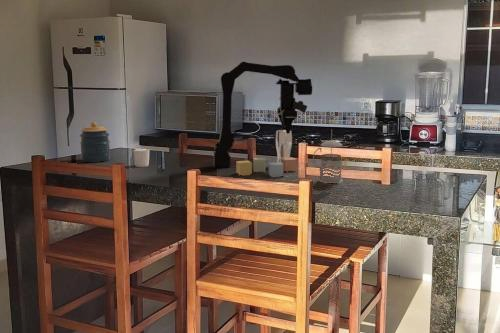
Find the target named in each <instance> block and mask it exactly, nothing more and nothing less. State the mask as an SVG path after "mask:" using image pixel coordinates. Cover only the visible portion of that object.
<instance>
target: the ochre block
mask: <svg viewBox="0 0 500 333" xmlns="http://www.w3.org/2000/svg"><path fill="white" fill-rule="evenodd" d="M235 165H236V166H235V167H236V169H235V170H236V174H237V173H238V174H239V175H238V174H237V175H238V176H240V175H242V176H251V175H250V174H252V175H253V162H251V161H250V160H237V161H236V163H235Z"/></svg>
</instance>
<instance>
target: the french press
mask: <svg viewBox="0 0 500 333" xmlns="http://www.w3.org/2000/svg"><path fill="white" fill-rule="evenodd" d="M335 116H336V115H335V114H329V118H331V119H333V118H336V117H335ZM341 147H343V144H342V143H341V142H339V141H337V140H334V139H333V130H331V136H330V140H326V141H324V142H321V144H320V147H319V148H317V149H316V150H314V151H313V152H314V153H313V156H312V161H313V164H314V166H315V167H317V168H319V178H318V179H317V180H318V181H320V182H324V183H323V184H327V183H337V184H342V183H341V182H343V181H344V180H343V179H342V164H343V163H342V161H343V159H341V158H340V157H342V155H341V154H337V153H335V154H334V153H332V152H333V150H332V149H333V148H341ZM322 148H330V153H324V154H321V157H322V158H321V159H320V165H318V164H317V163H316V160H315V154H316V152H317V151H319V150H320V153H321V152H322V151H323V150H322ZM323 169H324V170H323ZM329 169H332V170H334V171H336V172H334V171H332V170H329ZM338 170H340V171H338ZM323 171H325V172H324V173H323ZM326 172H327V173H326ZM328 172H331V173H333V174H335V175H333V174H331V173H328ZM339 173H340V174H339ZM324 174H328V175H331V176H334V177H330V176H323V175H324ZM338 174H339V175H338ZM318 181H317V182H318ZM320 182H319V183H320ZM343 183H344V182H343Z"/></svg>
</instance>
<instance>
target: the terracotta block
mask: <svg viewBox="0 0 500 333" xmlns="http://www.w3.org/2000/svg"><path fill="white" fill-rule="evenodd" d="M281 163H282V164H283V172H284V171H286V172H285V173H289V172H288V171H293V172H297V171H298V159H297V158H294V157H292V156H290V158H281Z"/></svg>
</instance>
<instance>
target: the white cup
mask: <svg viewBox="0 0 500 333" xmlns="http://www.w3.org/2000/svg"><path fill="white" fill-rule="evenodd" d="M132 152H133V158H134V164H135V166H134V167H137V168H139V167H140V168H143V167H148V166H149V164H150V163H149V162H150V149H149V148H135V149H133V151H132Z"/></svg>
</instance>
